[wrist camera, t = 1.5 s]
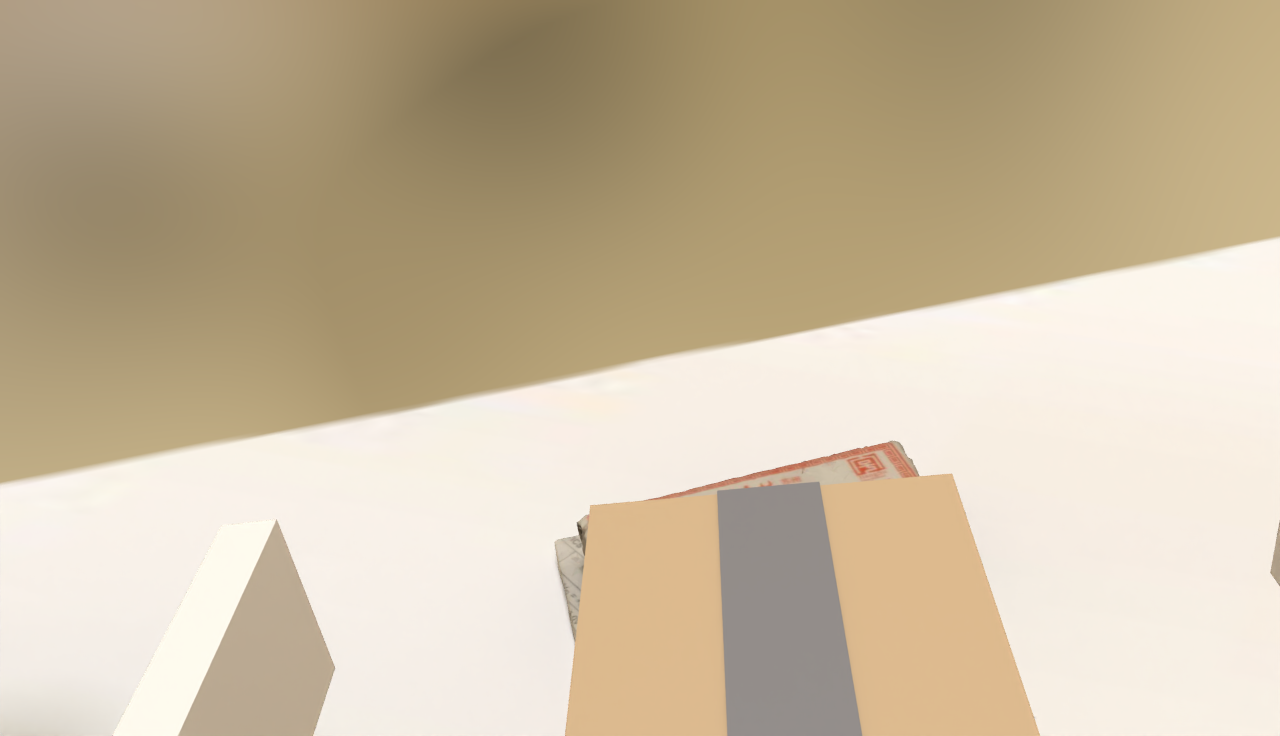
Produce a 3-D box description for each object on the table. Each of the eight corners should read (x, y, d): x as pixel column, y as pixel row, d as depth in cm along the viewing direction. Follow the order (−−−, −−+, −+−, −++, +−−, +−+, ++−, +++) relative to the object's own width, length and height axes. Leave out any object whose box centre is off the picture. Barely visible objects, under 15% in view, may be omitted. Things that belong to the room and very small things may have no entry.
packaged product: (888, 406, 57) (980, 526, 49) (890, 482, 59) (977, 608, 51) (539, 489, 55) (572, 630, 47) (557, 564, 58) (590, 710, 49)
